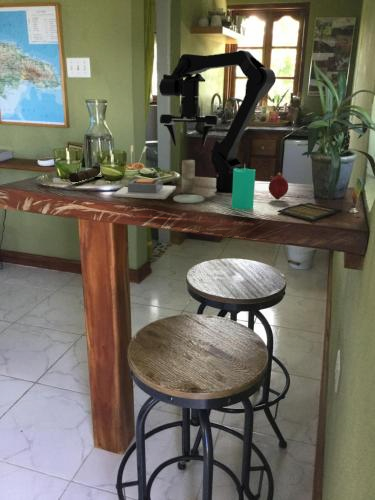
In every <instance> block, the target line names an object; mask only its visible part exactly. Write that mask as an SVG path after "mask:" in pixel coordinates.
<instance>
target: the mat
mask: <svg viewBox="0 0 375 500" xmlns="http://www.w3.org/2000/svg"><path fill="white" fill-rule="evenodd" d="M173 201H174V202H176V203H180V204H198V203H203V202H204V201H205V197H204V196H203V195H202V196H201V195H199V194H198V195H197V194H177V195H174V196H173Z"/></svg>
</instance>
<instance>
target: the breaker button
mask: <svg viewBox="0 0 375 500" xmlns="http://www.w3.org/2000/svg"><path fill="white" fill-rule="evenodd" d="M138 179H139V180H137V181H136V183H141V184H154V183H155V179H156V178H155V179H154V178H138Z"/></svg>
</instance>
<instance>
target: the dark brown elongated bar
mask: <svg viewBox="0 0 375 500" xmlns="http://www.w3.org/2000/svg"><path fill="white" fill-rule="evenodd" d="M99 173H100V165H99V164H96V165H92V168H89V169H86V170H83V171H82V170H81V171H77V172H71V173H69V174H68V181H71V182H79V181H81V182H83V181H82V180H84V181H86V180H85V179H87V180H91V179H93V178H92V177H95V176H97V175H98V174H99ZM90 178H91V179H90Z"/></svg>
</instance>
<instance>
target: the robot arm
mask: <svg viewBox="0 0 375 500" xmlns="http://www.w3.org/2000/svg"><path fill="white" fill-rule="evenodd" d="M231 67H239V68H240V70H241V72H242V74H243V75H244V76H245V77H246V78H247V80H246V83H245V90H244V91H245V94H244V97H243V99H242V101H241V103H240V105H239V108H238V109H237V112H236V113H235V116H234V118H233V120H232V122H231V124H230V126H229V127H228V129H227V130H228V131H227V132H226V134H225V137H224V138H223V139H220V140H219V139H218V140H216V141H215V142H214V145H213V147H212V149H211V151H210V153H211V155H210V160H211V163H212V165H213V168H214V170H215V173H216V174H217V175H216V177H215V189H216V192H218V193H231V194H232V191H233V170H234V169H235V168H238V169H242V168H243V167H244V166H243V163H242V162H241V161H240V159H239V158H238V153H239V145H240V141H241V139H242V137H243V135H244V133H245V131H246V129H247V127H248V125H249V123H250V121H251V119H252V117H253V115H254V113H255V111H256V110H257V107H258V105H259V103H260V102H261V100H263V99H264V98H265V97H266V95H267V94H268V93H269V92H270V91H271V89H272V88H273V86H274V85H275V83H276V79H277V78H276V74H275V72H274V70H273V69H272V68H269V67H266V66H265V65H264V64H263V63H262V62H260V60H258V59H257V58H255V57H254V56H253V54H252V53H251V52H250V51H247V50H243V49H240V50H238V51H232V52H224V53H216V54H210V55H209V54H207V55H200V54H193V53H192V54H191V53H190V54H189V53H184V54H182V55H181V56H179V59H178V62H177V65H176V66H175V68H174V70H173V71H172V74H165V73H164V74H162V79H161V80H160V82H159V83H160V84H159V85H158V87H159V88H158V89H159V94H161V96H162V97H180V105H179V115H180V116H178V115H176V114H174V113H163V114H161V115H160V116H159V124H163V127H166V128H167V130H168V133H169V134H170V136H171V139H172V140H171V141H172V142H173V144H174V147H177V144H178V143H177V139H178V138H177V132H176V131H177V129H176V128H177V124H176V123H202V124H203V123H204V125H203V128H202V129H203V130H202V138H201V148H203V147H204V146H205V143H206V141H207V138H208V136H209V132H210V131H211V129H212V128H215V126H217V125H219V124H220V117H219V115H218V114H207V115H204V116H201V108H200V105H199V102H200V101H199V96H200V83H202V82H203V83H204V82H206V79H205V77H203V76H202V74H201V73H205V72H207V71H209V70H212V69H220V68H221V69H222V68H231Z"/></svg>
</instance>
